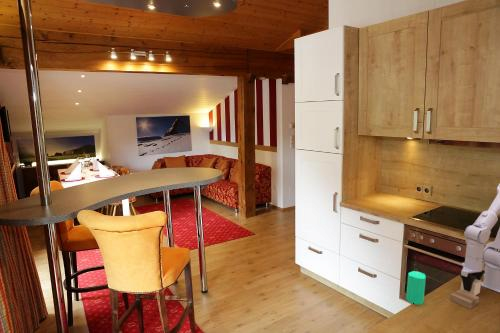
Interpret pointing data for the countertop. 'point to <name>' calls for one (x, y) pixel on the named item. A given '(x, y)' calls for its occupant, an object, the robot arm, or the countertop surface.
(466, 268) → the robot arm
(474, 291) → the block
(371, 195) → the countertop surface
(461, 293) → the stand
